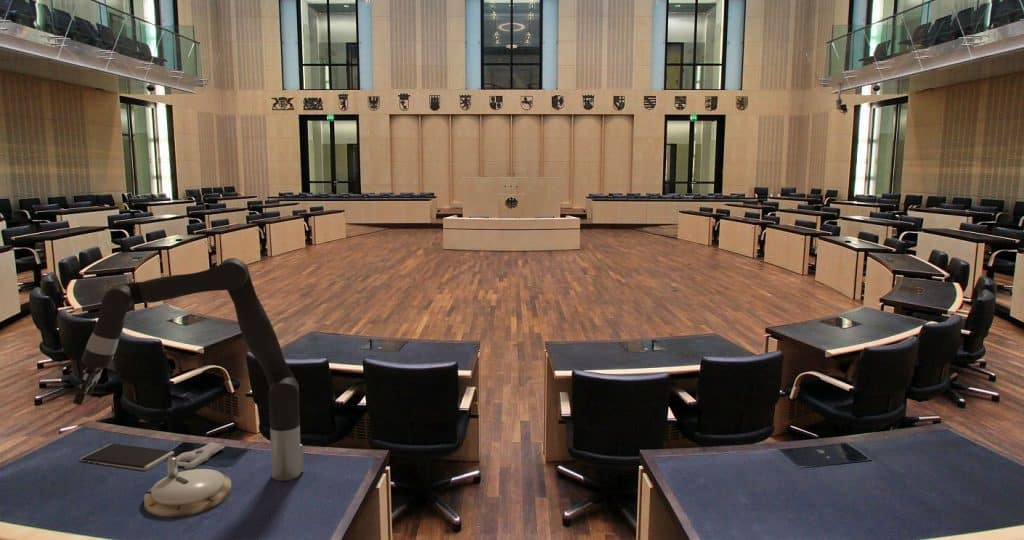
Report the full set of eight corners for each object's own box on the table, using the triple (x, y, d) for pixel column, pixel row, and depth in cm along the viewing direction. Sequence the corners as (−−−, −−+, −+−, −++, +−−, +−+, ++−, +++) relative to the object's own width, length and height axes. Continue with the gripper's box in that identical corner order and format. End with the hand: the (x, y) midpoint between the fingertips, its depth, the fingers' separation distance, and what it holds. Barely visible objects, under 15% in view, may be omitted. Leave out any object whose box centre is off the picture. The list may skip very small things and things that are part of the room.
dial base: (203, 470, 210) (202, 463, 210) (247, 490, 198) (247, 483, 197) (128, 500, 190) (127, 492, 190) (172, 525, 177) (172, 517, 177)
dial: (237, 484, 197) (236, 462, 195) (175, 512, 180) (173, 488, 179) (200, 467, 207) (199, 446, 206) (138, 492, 190) (136, 469, 189)
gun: (203, 437, 228) (226, 441, 226) (204, 446, 229) (227, 450, 226) (164, 461, 211) (188, 466, 208) (165, 470, 212) (189, 475, 209)
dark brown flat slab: (111, 447, 228) (111, 442, 227) (175, 455, 222) (175, 450, 222) (79, 463, 215) (79, 458, 215) (146, 472, 209) (146, 467, 209)
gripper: (107, 359, 181) (88, 410, 181) (121, 346, 194) (103, 394, 195) (78, 351, 178) (59, 404, 179) (94, 339, 192) (76, 387, 192)
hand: (82, 399), depth 187 cm, fingers open, 8 cm apart
